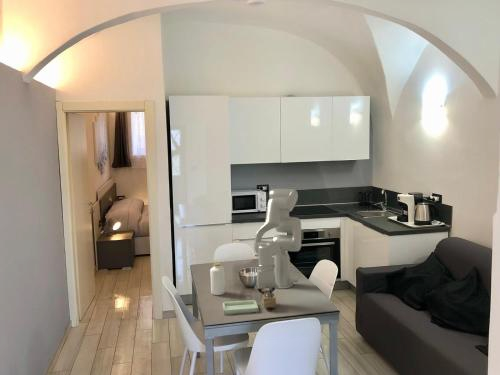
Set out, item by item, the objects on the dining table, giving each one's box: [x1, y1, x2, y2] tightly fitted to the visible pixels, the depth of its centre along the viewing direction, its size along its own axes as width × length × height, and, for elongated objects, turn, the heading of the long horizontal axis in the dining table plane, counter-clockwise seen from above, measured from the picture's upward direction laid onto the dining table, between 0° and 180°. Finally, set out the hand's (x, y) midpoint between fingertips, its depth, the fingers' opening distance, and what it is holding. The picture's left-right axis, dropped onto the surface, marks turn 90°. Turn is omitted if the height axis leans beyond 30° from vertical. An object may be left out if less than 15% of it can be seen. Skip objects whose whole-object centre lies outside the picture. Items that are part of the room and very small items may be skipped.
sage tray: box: [221, 299, 259, 316], centre depth 241 cm, size 18×12×2 cm, turn 98°
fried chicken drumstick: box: [261, 289, 277, 309], centre depth 243 cm, size 12×6×5 cm, turn 8°
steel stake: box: [265, 294, 272, 311], centre depth 240 cm, size 3×3×8 cm
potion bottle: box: [209, 262, 226, 296], centre depth 266 cm, size 8×8×18 cm
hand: (266, 299), depth 248 cm, fingers closed on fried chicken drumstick, 3 cm apart
